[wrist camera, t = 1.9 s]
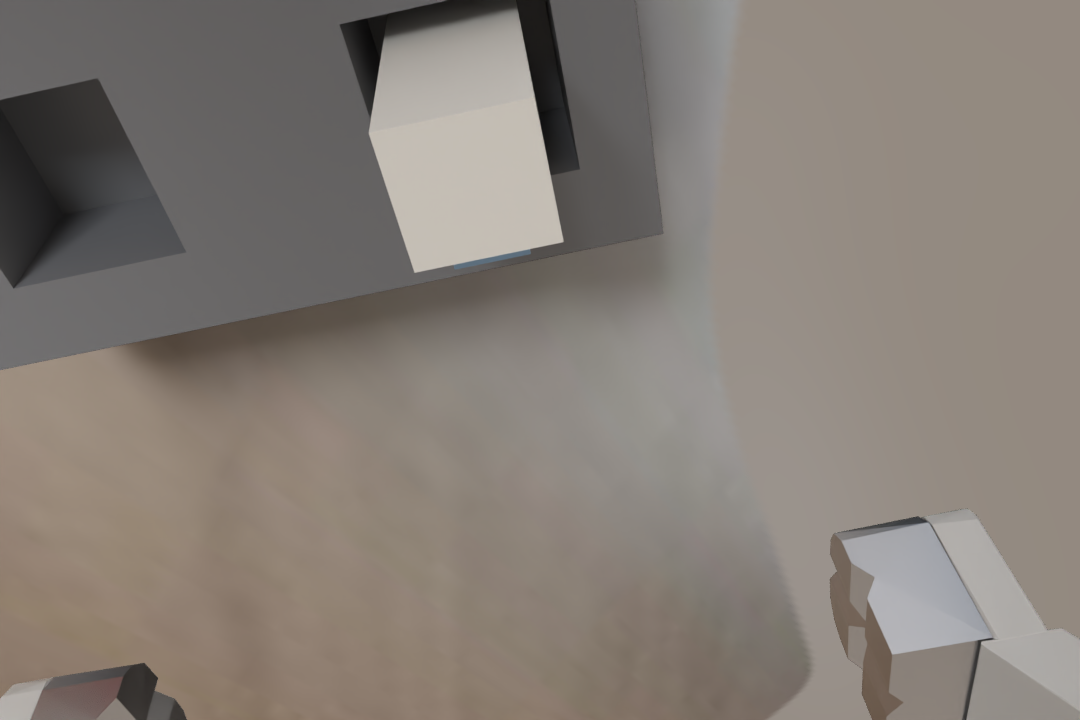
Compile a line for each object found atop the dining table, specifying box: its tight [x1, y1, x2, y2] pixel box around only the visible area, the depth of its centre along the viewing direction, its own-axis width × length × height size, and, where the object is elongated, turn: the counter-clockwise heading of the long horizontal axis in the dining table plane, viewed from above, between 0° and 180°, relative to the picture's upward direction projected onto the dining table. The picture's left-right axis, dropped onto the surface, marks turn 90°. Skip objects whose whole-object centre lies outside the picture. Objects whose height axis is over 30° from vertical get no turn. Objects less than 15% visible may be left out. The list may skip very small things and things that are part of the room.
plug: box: [369, 0, 564, 273], centre depth 23 cm, size 4×3×9 cm
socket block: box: [0, 0, 663, 370], centre depth 25 cm, size 10×20×5 cm, turn 101°
